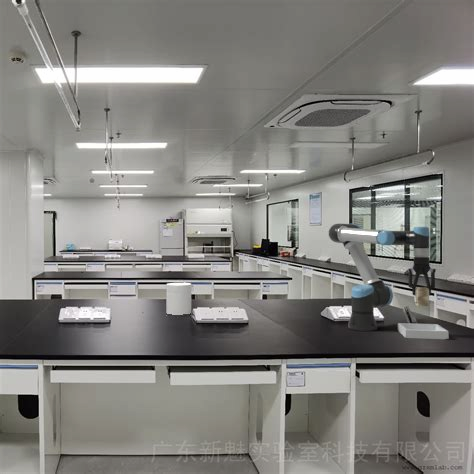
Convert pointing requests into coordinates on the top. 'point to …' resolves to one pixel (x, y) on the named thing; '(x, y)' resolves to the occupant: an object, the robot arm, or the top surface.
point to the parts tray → (423, 331)
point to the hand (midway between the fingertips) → (421, 301)
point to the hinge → (409, 315)
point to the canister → (178, 298)
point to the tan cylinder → (422, 296)
